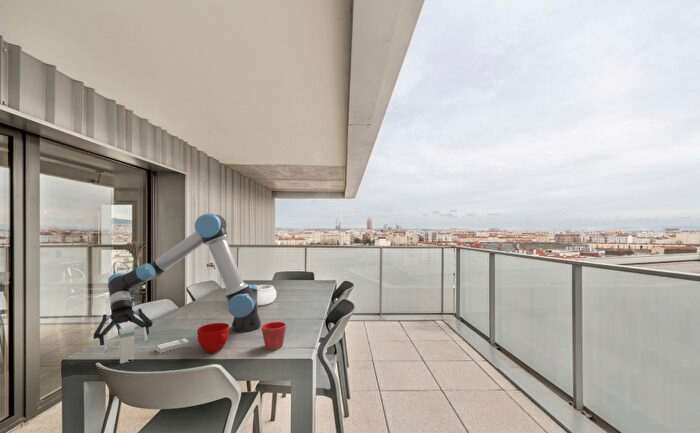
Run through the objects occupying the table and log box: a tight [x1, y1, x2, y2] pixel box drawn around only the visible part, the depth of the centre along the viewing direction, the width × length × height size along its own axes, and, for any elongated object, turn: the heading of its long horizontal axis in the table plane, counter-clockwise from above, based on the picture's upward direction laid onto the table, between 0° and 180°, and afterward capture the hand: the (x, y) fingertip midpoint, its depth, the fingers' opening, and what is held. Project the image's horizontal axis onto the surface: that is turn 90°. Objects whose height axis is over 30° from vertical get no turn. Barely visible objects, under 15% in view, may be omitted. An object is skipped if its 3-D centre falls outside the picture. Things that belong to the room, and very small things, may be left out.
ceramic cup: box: [196, 322, 230, 354], centre depth 132 cm, size 13×17×10 cm
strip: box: [155, 338, 190, 354], centre depth 136 cm, size 12×6×2 cm, turn 135°
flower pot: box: [261, 321, 287, 351], centre depth 136 cm, size 11×11×10 cm
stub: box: [118, 325, 136, 364], centre depth 124 cm, size 5×5×13 cm
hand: (126, 346), depth 123 cm, fingers open, 13 cm apart
